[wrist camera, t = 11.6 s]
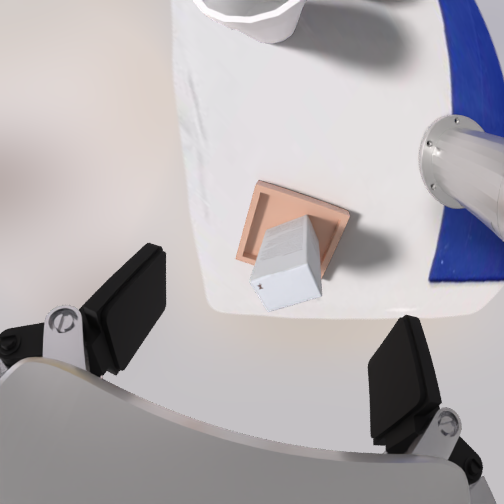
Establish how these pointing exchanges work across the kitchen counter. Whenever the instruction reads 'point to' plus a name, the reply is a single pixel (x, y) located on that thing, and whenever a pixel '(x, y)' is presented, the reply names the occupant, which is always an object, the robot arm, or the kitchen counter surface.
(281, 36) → the foam cup
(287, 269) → the skincare box
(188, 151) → the kitchen counter surface
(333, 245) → the tray
